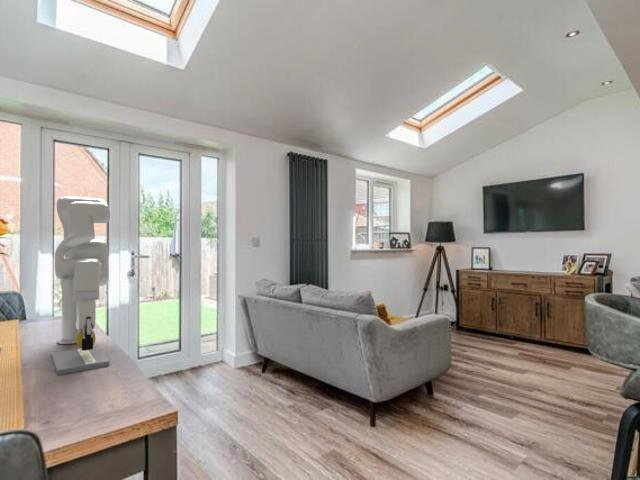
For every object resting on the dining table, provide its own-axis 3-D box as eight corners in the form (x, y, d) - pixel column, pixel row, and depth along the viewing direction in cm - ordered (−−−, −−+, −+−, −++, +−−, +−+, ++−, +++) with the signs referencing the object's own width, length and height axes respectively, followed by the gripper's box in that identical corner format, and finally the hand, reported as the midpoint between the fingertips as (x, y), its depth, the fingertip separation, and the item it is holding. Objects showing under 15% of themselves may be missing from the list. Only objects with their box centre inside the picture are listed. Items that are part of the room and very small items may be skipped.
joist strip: (77, 349, 134) (77, 349, 134) (86, 348, 136) (86, 347, 136) (85, 364, 117) (85, 363, 117) (96, 362, 119) (96, 361, 119)
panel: (51, 356, 130) (51, 352, 130) (97, 349, 139) (97, 345, 139) (57, 375, 111) (57, 370, 111) (109, 365, 120) (109, 361, 120)
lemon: (99, 349, 128) (99, 326, 128) (83, 353, 123) (83, 329, 123) (88, 347, 130) (89, 325, 130) (72, 351, 125) (73, 328, 125)
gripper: (70, 293, 131) (70, 344, 131) (76, 299, 118) (76, 355, 118) (95, 292, 136) (94, 340, 136) (103, 297, 123) (102, 351, 122)
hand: (86, 347), depth 127 cm, fingers closed on lemon, 5 cm apart
